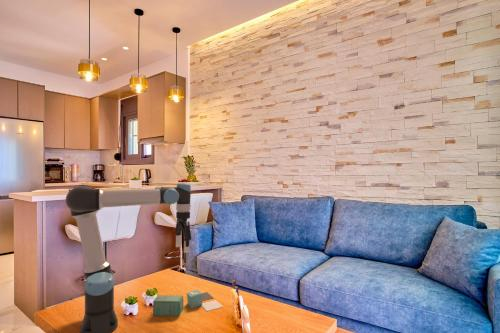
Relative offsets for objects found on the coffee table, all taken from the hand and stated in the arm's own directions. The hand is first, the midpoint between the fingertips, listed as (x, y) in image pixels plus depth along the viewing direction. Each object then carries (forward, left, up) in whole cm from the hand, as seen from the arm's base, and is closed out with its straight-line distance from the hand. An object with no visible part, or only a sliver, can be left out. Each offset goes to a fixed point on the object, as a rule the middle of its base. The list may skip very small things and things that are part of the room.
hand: (182, 249), depth 161 cm
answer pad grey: (+11, -16, -27) cm, 33 cm away
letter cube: (+4, -10, -27) cm, 29 cm away
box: (-11, -11, -28) cm, 32 cm away
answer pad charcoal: (+11, -4, -27) cm, 30 cm away
